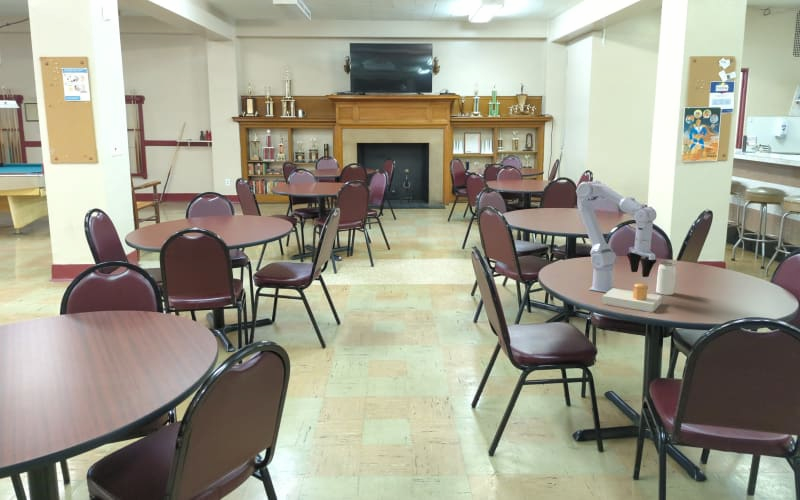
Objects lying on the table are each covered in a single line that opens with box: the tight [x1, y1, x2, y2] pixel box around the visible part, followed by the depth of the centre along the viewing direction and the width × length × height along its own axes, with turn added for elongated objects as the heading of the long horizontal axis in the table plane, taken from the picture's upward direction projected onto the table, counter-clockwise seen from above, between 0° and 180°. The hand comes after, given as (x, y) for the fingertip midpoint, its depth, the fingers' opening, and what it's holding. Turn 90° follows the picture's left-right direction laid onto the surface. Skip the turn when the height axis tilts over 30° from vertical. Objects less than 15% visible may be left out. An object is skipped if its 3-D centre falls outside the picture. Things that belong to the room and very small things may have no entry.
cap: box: [632, 283, 649, 300], centre depth 231 cm, size 5×5×5 cm
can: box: [655, 261, 677, 296], centre depth 249 cm, size 6×6×12 cm
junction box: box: [601, 287, 663, 313], centre depth 234 cm, size 14×18×6 cm
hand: (639, 274), depth 240 cm, fingers open, 7 cm apart
